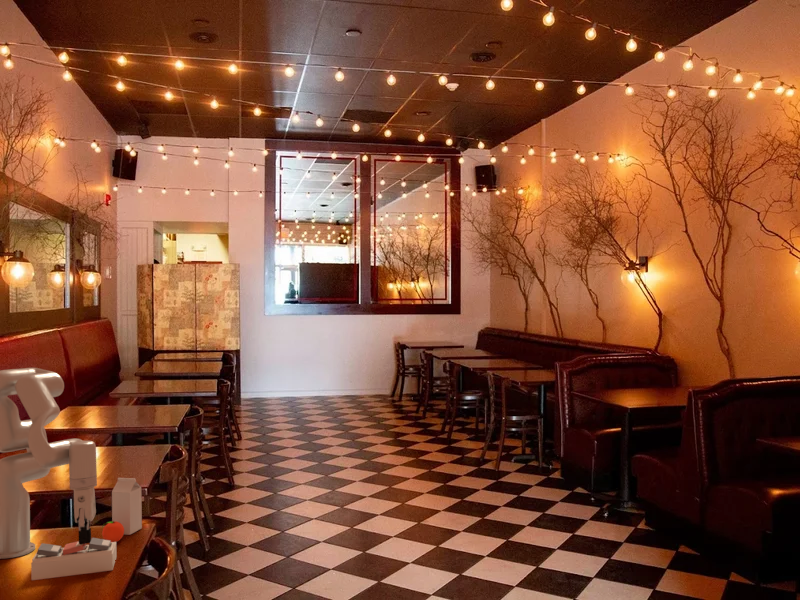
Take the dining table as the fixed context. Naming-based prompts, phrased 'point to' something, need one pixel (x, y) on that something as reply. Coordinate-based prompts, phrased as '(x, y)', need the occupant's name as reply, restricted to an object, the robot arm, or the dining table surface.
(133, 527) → the milk carton
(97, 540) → the plate
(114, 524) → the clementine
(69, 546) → the rocker mid
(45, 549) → the rocker
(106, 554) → the rocker switch panel
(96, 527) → the dining table surface
